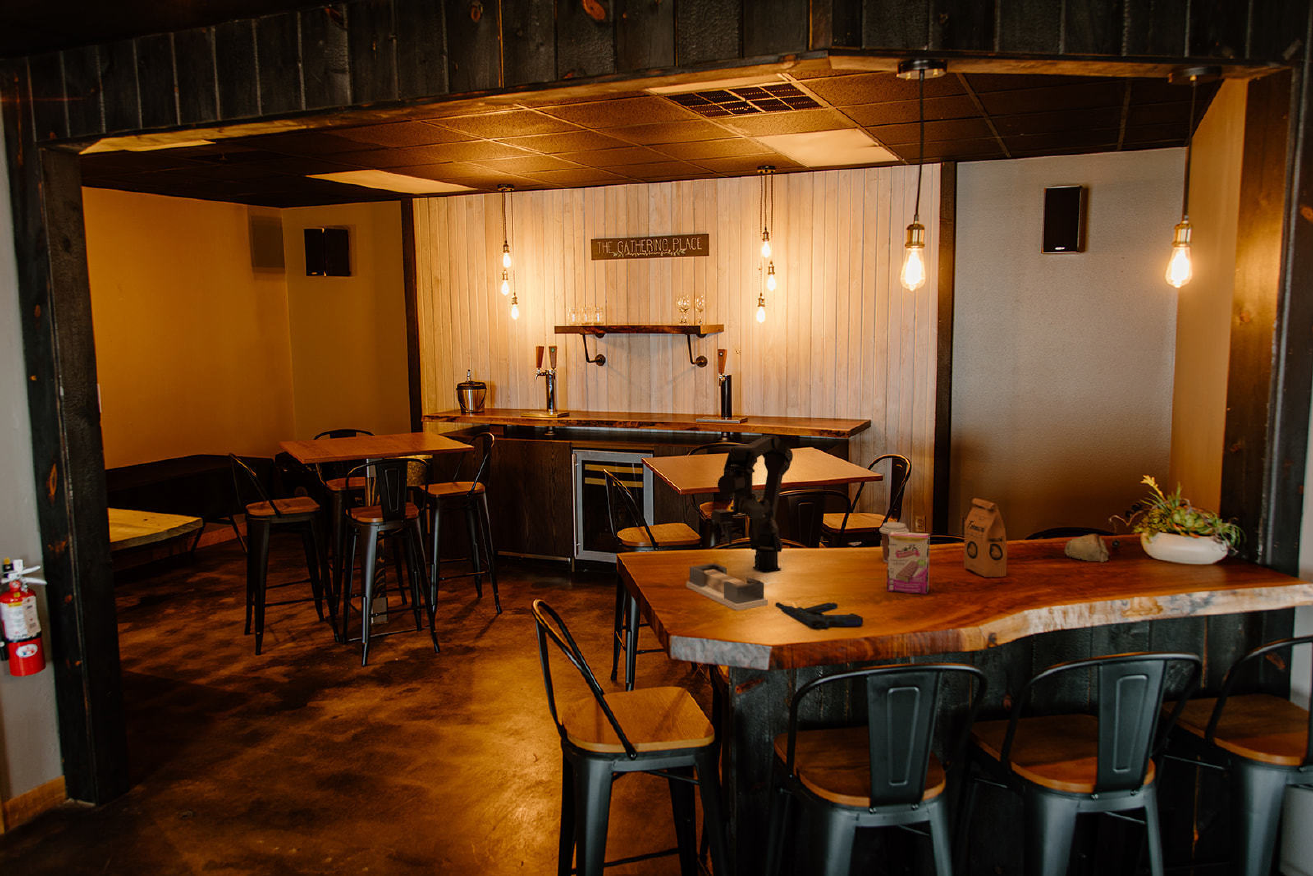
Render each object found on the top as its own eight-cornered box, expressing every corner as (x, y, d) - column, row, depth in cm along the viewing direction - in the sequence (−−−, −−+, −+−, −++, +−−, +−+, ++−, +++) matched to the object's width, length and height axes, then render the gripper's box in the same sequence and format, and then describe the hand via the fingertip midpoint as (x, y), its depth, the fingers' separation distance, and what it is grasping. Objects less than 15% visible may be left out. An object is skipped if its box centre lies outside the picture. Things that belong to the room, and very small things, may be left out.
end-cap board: (686, 587, 254) (686, 581, 254) (715, 582, 259) (715, 577, 259) (736, 610, 231) (736, 605, 231) (767, 604, 235) (767, 599, 235)
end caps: (689, 582, 254) (689, 567, 253) (714, 578, 258) (714, 563, 257) (737, 604, 232) (736, 587, 231) (763, 599, 236) (763, 582, 235)
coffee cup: (885, 556, 285) (885, 520, 284) (912, 560, 280) (913, 523, 279) (874, 562, 278) (874, 525, 277) (902, 566, 273) (903, 528, 271)
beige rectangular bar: (700, 583, 252) (700, 571, 252) (713, 581, 254) (713, 569, 254) (738, 600, 235) (738, 588, 234) (752, 598, 237) (752, 585, 236)
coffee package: (980, 579, 256) (982, 505, 254) (959, 569, 268) (960, 498, 266) (1012, 577, 258) (1014, 504, 255) (989, 567, 270) (991, 496, 268)
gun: (821, 604, 239) (772, 610, 234) (821, 594, 239) (772, 600, 234) (870, 627, 217) (817, 634, 212) (870, 615, 217) (817, 623, 212)
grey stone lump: (1118, 562, 273) (1119, 537, 272) (1079, 563, 272) (1080, 538, 271) (1094, 552, 287) (1094, 528, 286) (1056, 553, 286) (1057, 529, 285)
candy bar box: (886, 592, 245) (887, 534, 244) (888, 587, 250) (888, 530, 248) (928, 595, 242) (929, 536, 240) (929, 590, 246) (929, 533, 245)
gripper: (730, 496, 244) (731, 551, 245) (785, 490, 252) (785, 543, 254) (709, 491, 254) (710, 544, 255) (763, 485, 262) (763, 536, 264)
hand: (743, 542), depth 257 cm, fingers open, 9 cm apart
